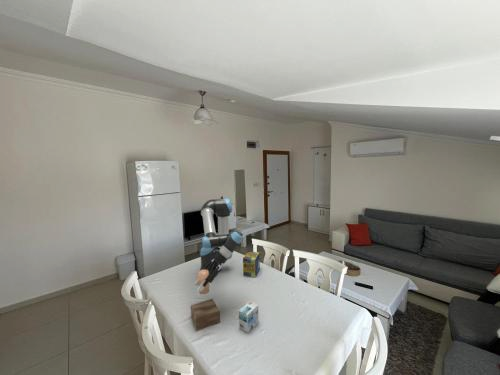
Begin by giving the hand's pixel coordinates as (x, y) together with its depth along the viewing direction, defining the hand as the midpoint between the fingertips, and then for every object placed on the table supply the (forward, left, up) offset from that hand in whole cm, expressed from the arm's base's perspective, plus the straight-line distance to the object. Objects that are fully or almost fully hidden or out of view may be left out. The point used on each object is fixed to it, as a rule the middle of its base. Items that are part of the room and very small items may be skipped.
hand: (197, 287), depth 127 cm
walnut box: (0, +4, -21) cm, 21 cm away
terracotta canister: (0, +4, -3) cm, 5 cm away
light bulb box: (+17, +25, -21) cm, 37 cm away
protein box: (-36, +54, -21) cm, 68 cm away
